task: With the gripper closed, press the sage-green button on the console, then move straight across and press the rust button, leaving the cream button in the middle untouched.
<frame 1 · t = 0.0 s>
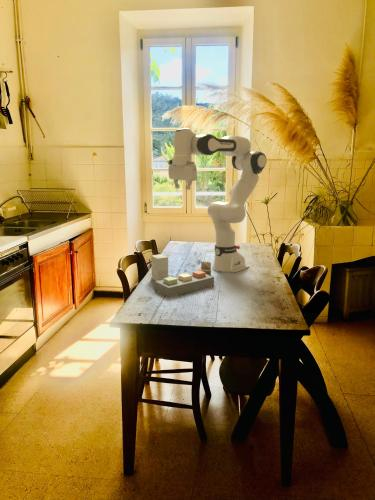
hand: (182, 189, 201), 48 cm above the table, tool pointing down, fingers open, 8 cm apart
console: (185, 287, 197), on the table
small box: (160, 280, 210), on the table
rust button: (199, 275, 201), point 4 cm above the table, slide at 0.0 cm
sage button: (170, 282, 191), point 5 cm above the table, slide at 0.0 cm
cream button: (185, 279, 196), point 5 cm above the table, slide at 0.0 cm
architectural model: (205, 275, 220), on the table
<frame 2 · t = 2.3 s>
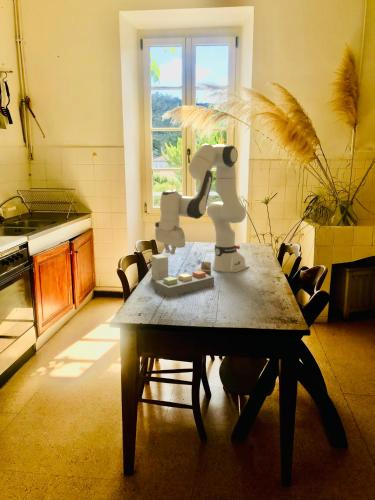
hand: (170, 253, 188), 19 cm above the table, tool pointing down, fingers open, 3 cm apart
nothing on the table moved.
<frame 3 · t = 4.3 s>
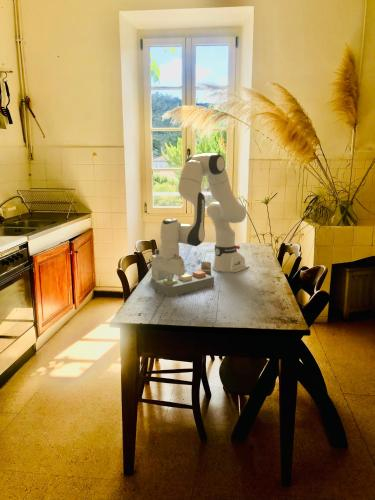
hand: (169, 280, 191), 6 cm above the table, tool pointing down, fingers closed, pressing on sage button
sage button: (170, 284, 191), point 4 cm above the table, slide at -0.8 cm, touching gripper
everything else where it was.
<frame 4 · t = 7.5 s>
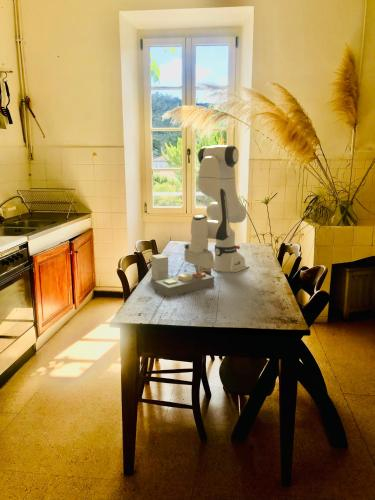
hand: (198, 273, 201), 6 cm above the table, tool pointing down, fingers closed, pressing on rust button
rust button: (199, 277, 202), point 4 cm above the table, slide at -0.7 cm, touching gripper
sage button: (170, 285, 191), point 3 cm above the table, slide at -1.3 cm
everything else where it was.
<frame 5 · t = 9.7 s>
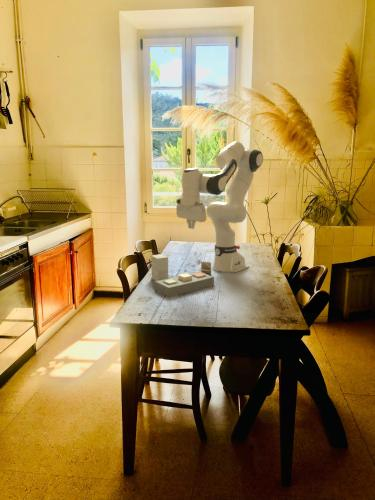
hand: (191, 228, 199), 29 cm above the table, tool pointing down, fingers closed
rust button: (199, 278, 202), point 3 cm above the table, slide at -1.3 cm
everything else where it was.
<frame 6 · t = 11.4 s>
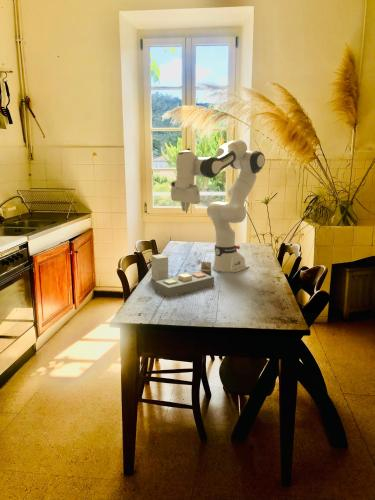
hand: (185, 211, 200), 37 cm above the table, tool pointing down, fingers closed
nothing on the table moved.
at the end: sage button slide at -1.3 cm; rust button slide at -1.3 cm; cream button slide at 0.0 cm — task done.
